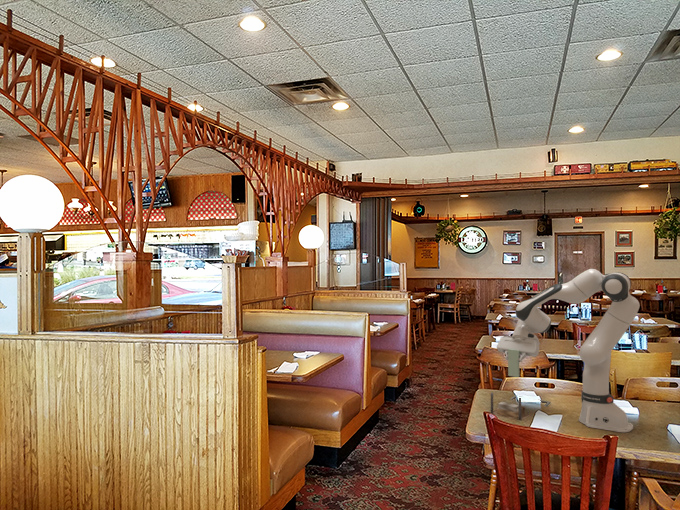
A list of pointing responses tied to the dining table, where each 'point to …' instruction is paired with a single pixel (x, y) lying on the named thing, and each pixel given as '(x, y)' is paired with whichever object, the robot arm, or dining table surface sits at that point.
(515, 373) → the grey-green rectangular block
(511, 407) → the offcut upper
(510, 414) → the offcut lower
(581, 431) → the dining table surface
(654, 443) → the dining table surface
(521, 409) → the rack
